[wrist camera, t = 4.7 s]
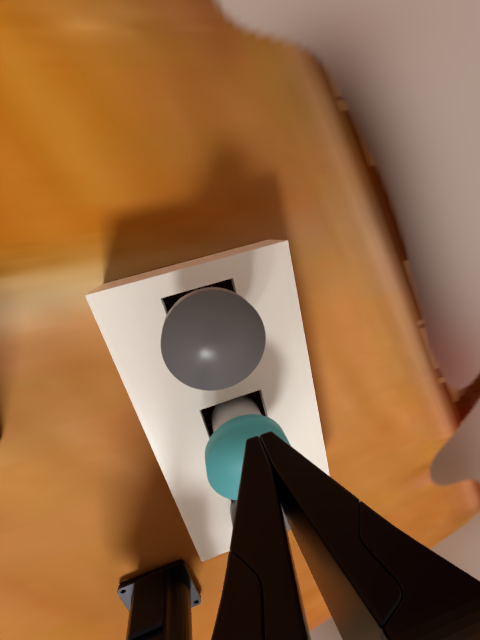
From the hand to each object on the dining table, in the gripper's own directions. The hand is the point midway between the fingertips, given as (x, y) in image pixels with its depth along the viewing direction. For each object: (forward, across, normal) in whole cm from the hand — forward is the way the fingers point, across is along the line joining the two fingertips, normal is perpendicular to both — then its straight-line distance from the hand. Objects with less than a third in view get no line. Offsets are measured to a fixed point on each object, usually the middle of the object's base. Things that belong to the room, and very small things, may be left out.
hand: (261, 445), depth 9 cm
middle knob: (+10, 0, +7) cm, 12 cm away
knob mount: (+14, 0, +7) cm, 15 cm away
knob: (+10, 0, -1) cm, 10 cm away
